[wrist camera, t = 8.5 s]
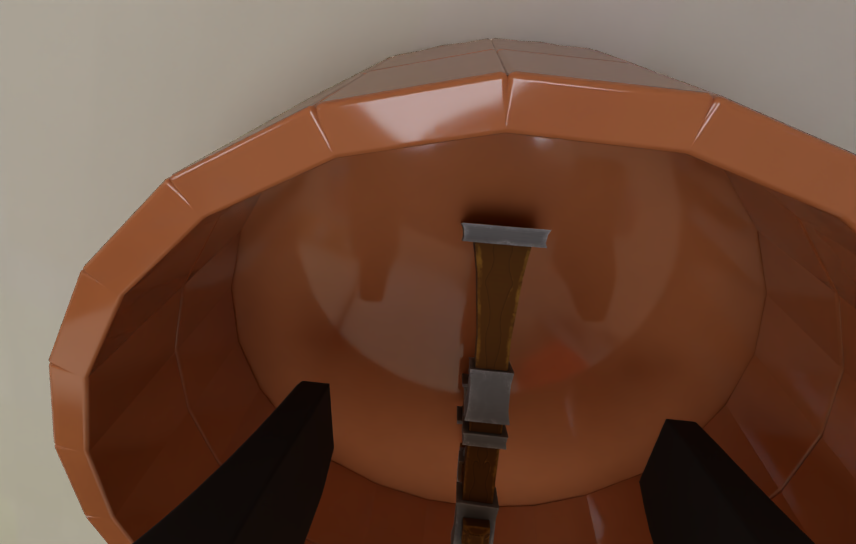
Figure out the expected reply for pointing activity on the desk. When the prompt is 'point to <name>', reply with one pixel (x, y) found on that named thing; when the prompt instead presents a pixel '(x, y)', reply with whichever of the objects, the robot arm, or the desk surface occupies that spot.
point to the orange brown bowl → (456, 301)
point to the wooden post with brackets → (489, 374)
